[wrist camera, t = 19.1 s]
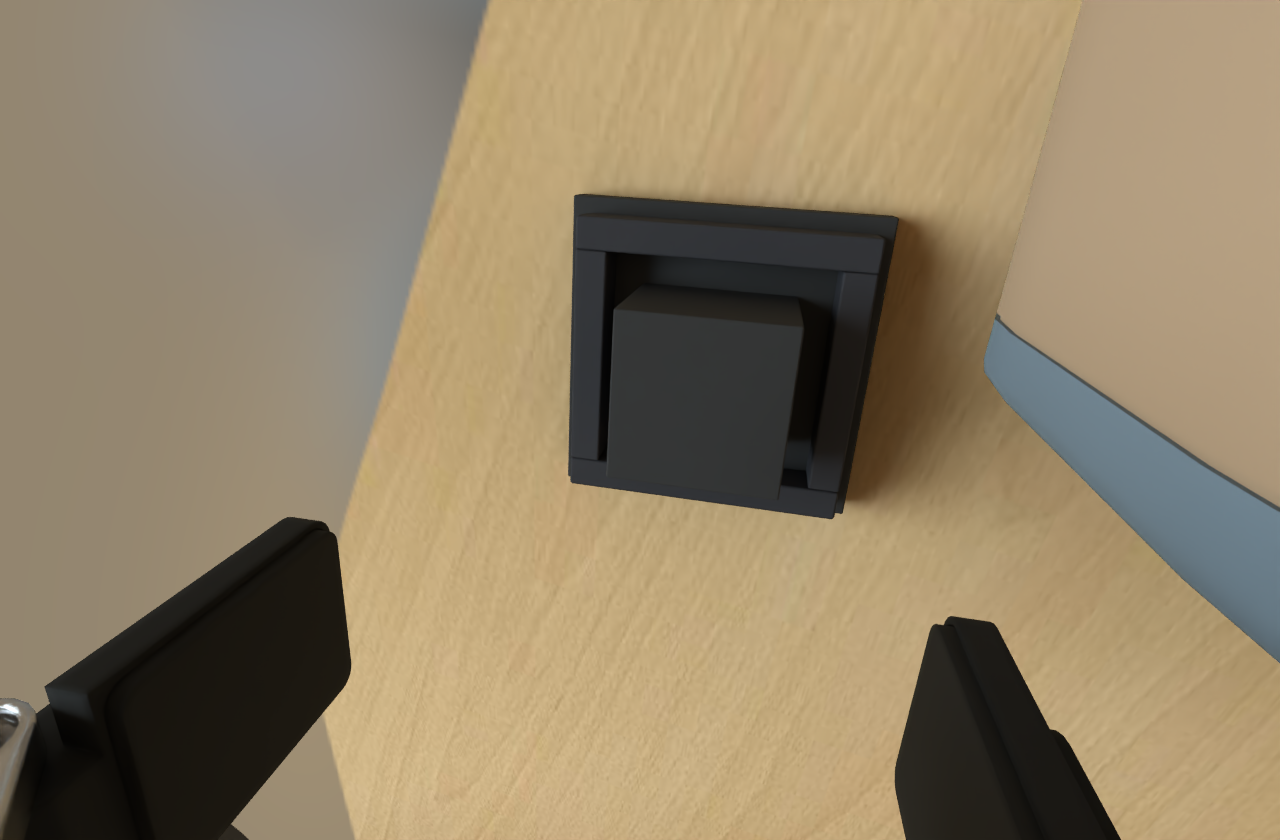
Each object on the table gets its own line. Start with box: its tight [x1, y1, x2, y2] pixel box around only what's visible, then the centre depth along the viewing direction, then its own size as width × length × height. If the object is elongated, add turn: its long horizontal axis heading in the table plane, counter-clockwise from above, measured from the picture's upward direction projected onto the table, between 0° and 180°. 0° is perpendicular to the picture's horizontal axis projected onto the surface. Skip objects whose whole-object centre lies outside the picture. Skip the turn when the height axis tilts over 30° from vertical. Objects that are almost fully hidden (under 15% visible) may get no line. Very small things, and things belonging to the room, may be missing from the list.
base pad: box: [568, 194, 899, 519], centre depth 22 cm, size 10×10×2 cm
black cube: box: [606, 283, 804, 500], centre depth 20 cm, size 5×5×4 cm
